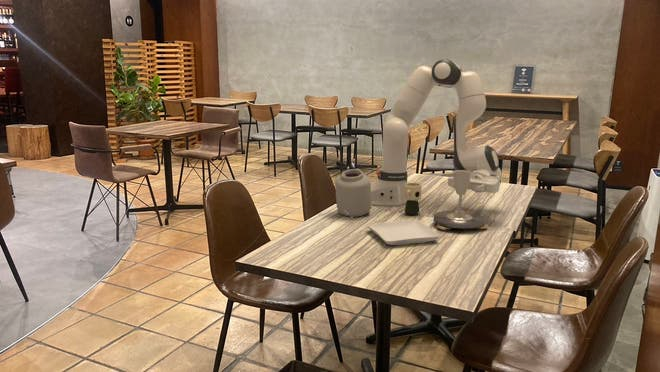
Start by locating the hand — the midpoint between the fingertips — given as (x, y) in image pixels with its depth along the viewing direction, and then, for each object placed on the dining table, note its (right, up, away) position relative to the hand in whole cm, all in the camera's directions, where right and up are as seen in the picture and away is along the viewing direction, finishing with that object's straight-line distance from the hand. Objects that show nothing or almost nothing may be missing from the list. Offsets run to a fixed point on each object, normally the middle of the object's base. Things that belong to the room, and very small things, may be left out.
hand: (464, 187), depth 218 cm
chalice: (-2, -12, 0) cm, 12 cm away
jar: (-44, -12, +16) cm, 48 cm away
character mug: (-18, -12, +17) cm, 28 cm away
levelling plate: (-2, -15, +1) cm, 15 cm away
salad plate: (-26, -19, -12) cm, 35 cm away
